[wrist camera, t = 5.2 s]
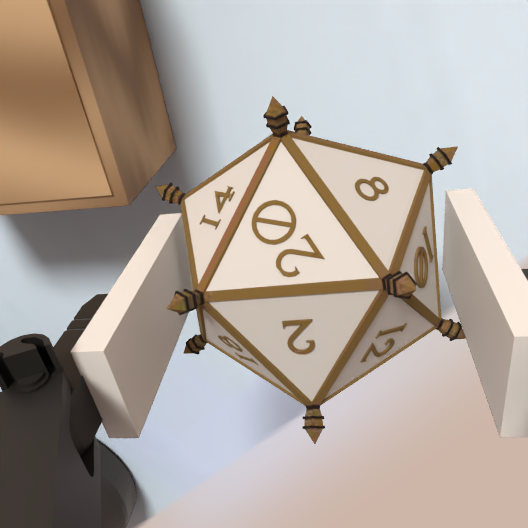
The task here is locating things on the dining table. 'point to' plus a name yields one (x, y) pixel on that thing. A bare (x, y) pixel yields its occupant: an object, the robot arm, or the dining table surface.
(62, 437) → the robot arm
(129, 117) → the pedestal
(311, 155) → the game die
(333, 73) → the dining table surface
